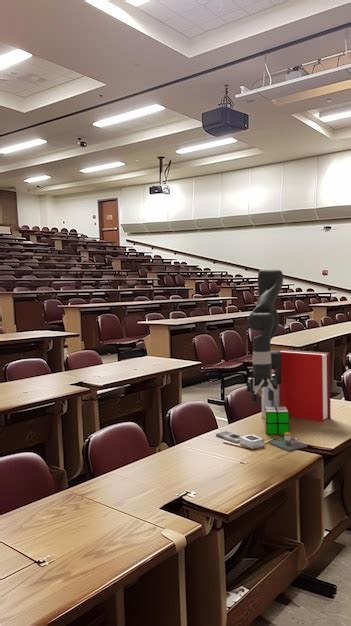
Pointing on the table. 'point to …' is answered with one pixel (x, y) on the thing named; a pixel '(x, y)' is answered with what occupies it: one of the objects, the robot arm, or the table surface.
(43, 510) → the table surface
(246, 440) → the link
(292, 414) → the book
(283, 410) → the puzzle cube
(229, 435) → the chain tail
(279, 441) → the keeper
